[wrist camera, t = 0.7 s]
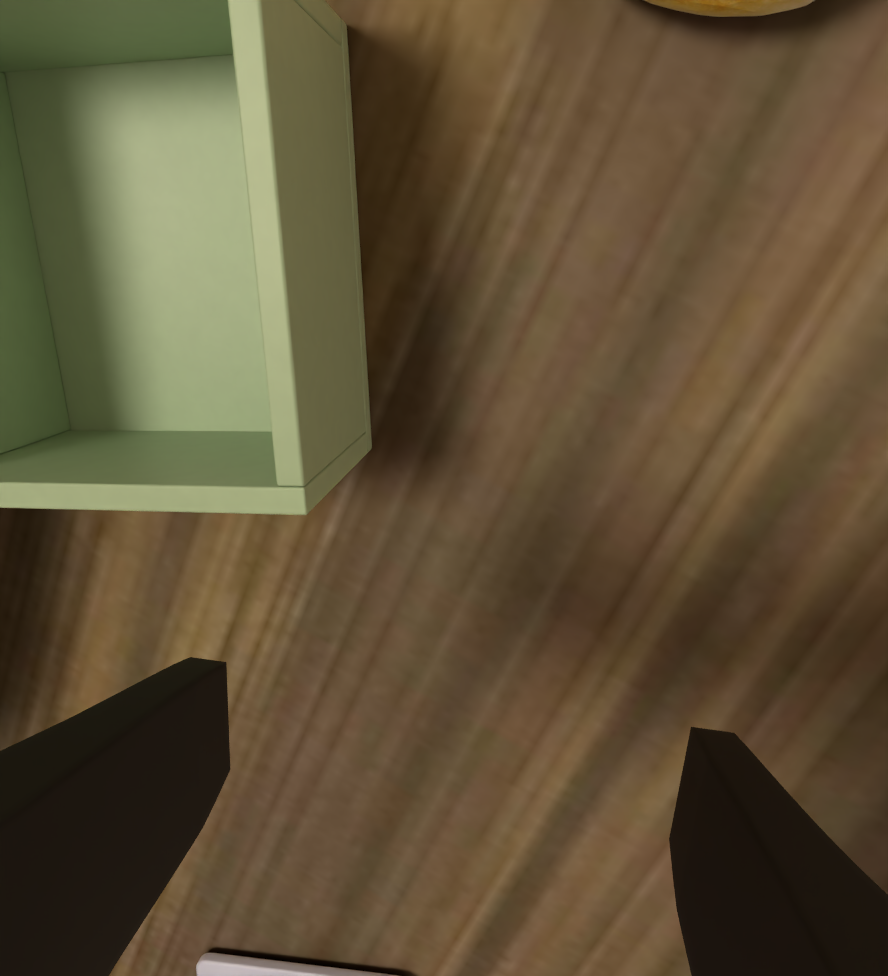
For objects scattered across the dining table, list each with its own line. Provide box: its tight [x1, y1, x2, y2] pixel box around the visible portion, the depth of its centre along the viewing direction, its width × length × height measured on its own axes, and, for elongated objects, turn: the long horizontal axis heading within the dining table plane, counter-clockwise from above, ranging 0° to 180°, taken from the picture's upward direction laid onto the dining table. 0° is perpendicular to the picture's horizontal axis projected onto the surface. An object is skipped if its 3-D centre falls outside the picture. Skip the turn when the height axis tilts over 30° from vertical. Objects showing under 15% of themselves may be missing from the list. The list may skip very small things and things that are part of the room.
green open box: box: [0, 0, 372, 515], centre depth 16 cm, size 10×9×6 cm
